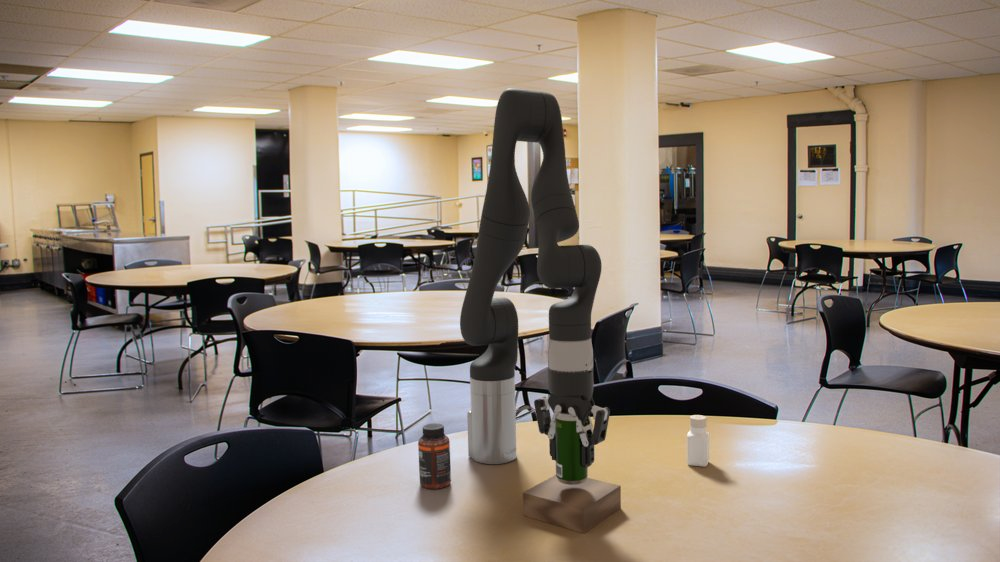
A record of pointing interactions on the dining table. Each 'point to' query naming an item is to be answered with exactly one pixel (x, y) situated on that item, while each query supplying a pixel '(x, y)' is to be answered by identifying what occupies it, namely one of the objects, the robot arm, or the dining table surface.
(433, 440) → the supplement bottle
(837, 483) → the dining table surface
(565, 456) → the beer can
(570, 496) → the walnut plinth
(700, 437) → the pepper shaker
